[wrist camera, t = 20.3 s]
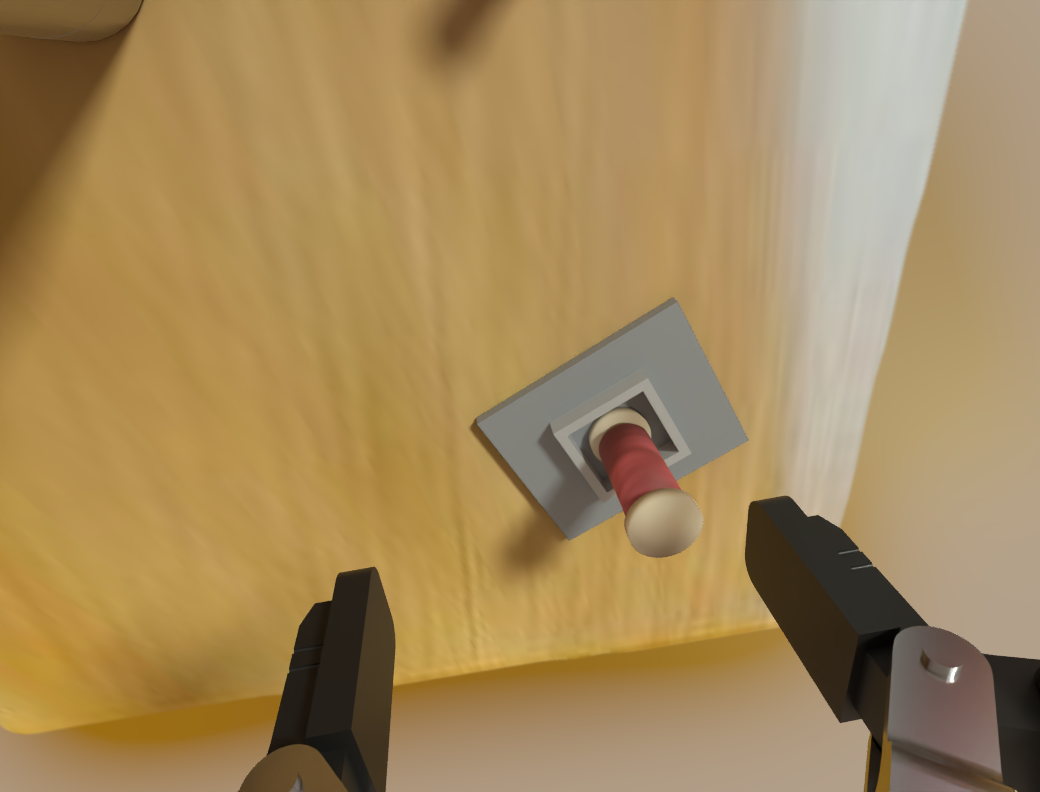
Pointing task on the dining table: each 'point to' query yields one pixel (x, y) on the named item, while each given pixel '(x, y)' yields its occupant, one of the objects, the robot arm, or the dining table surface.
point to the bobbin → (644, 485)
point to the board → (600, 388)
